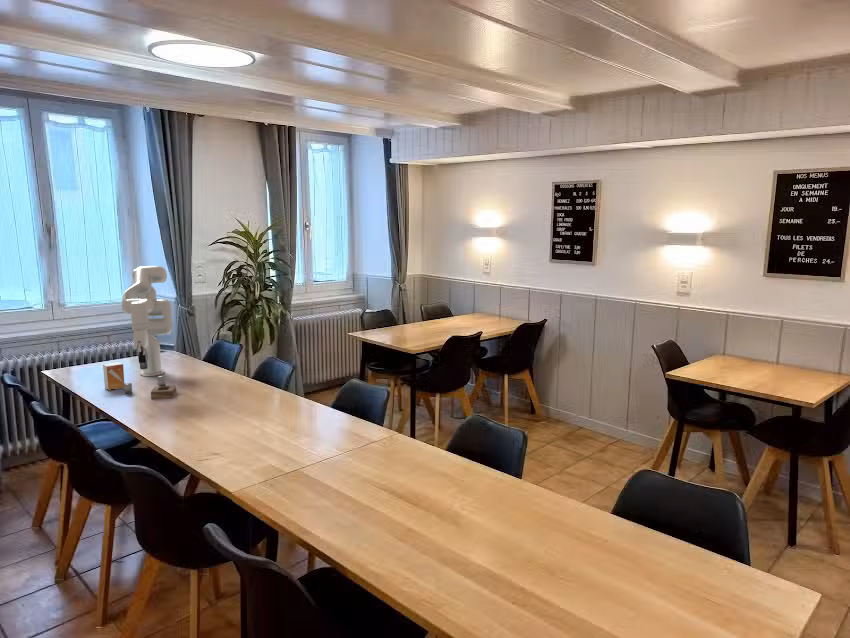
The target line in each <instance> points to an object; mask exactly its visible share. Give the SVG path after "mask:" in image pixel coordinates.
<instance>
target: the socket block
mask: <svg viewBox="0 0 850 638" xmlns="http://www.w3.org/2000/svg"><path fill="white" fill-rule="evenodd" d="M176 393H177V384H174V385H173V384H172V385H166V386H158V385H157V386H156V385H155V386H154V387H153V388H152V390H151V391H150V399H151V400H157V398H160V399H173V398H174V397H175V395H176Z"/></svg>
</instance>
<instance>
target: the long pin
mask: <svg viewBox="0 0 850 638" xmlns="http://www.w3.org/2000/svg"><path fill="white" fill-rule="evenodd" d="M141 349H143V348H141ZM141 351H143V350H141ZM144 351H145V356H146V362H145V363H139V369H140V370H143V369H147V368H148V363H147V351H146V348H145V349H144Z"/></svg>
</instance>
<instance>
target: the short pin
mask: <svg viewBox="0 0 850 638" xmlns="http://www.w3.org/2000/svg"><path fill="white" fill-rule="evenodd" d="M124 383H125V384H124V388H123V390H124V391H123V392H124V393H125V394H124V395H126V394H128V395H132V394H133V384H132V383H131V382H124ZM131 393H132V394H131Z"/></svg>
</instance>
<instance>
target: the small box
mask: <svg viewBox="0 0 850 638" xmlns="http://www.w3.org/2000/svg"><path fill="white" fill-rule="evenodd" d="M102 370H103V380H104V381H103V382H104V389H105V388H106V389H105V390H107V389H108V390H109V391H112V390H111V389H115V390H119V389H118V388H121V389H124V384H125V383H126V382H125V371H124V363H122V362H121V361H117V362H110V363H104V364H102ZM108 390H107V391H108Z"/></svg>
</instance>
